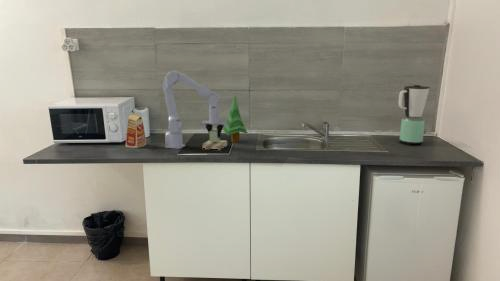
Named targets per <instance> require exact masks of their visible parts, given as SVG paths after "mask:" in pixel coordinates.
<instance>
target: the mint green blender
mask: <svg viewBox="0 0 500 281" xmlns="http://www.w3.org/2000/svg"><path fill="white" fill-rule="evenodd" d="M430 89H431V88H430V86H422V85H419V84H415V85H408V86H406V85H405V86H404V88H403V90H402V89H401V91H400V92H399V95H398V101H397V102H398V107H399V108H400V109H401V110H404V112H405V115H403V116H402V118H401V123H400V129H399V143H403V144H407V146H411V145H419V144H422V145H423V142H424V134H426V133H427V129H426V127H425V124H426V120H425V117H424V116H423V113H424V109H425V107H426V106H425V105H426V104H427V99H428V95H429V91H430ZM403 99H404V105H403Z"/></svg>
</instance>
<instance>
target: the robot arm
mask: <svg viewBox="0 0 500 281" xmlns="http://www.w3.org/2000/svg"><path fill="white" fill-rule="evenodd" d="M176 83H184V84H186V85H188V86H190V87H191V88H192V89H194V90H196V93H197V94H198V95H199V96H201V97H202V98H204V99H205V100H207V101H208V103H209V104H208V109H209V110H208V112H209V115H208V116H209V119H208V120H202V123H201V124H202V125H205V128H206V130H207V132H208V134H209V131H211V130H213V126H216V130H217V132H218V138H220V139H221V134H222V130H223V128H224V127H225V126H227V121H220V102H219V101H220V95H219V94H218V93H217V92H215V91H214V90H211V89H209V87H208V85H205V84H201V85H200V84H198V83H197V82H196V81H195V80H193V79H192V78H191V77H189V76H188V75H186V74H185V73H183V72H181V71H179V70H177V69H174V70H170V71H169V72H167V74H165V76H164V80H163V83H162V91H163V95H164V96H163V97H164V100H165V106H166V110H167V113H168V131H166V132H165V136H164V142H165V146H164V148H165V149H166V148H167V149H168V148H169V149H178V150H180V149H182V148H184V147H186V144H184V143H183V130H182V128H183V122H182V120H181V119H180V116H179V114H178V110H177V104H176V101H175V95H174V91H173V90H174V89H173V88H174V86H175V85H176Z"/></svg>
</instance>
